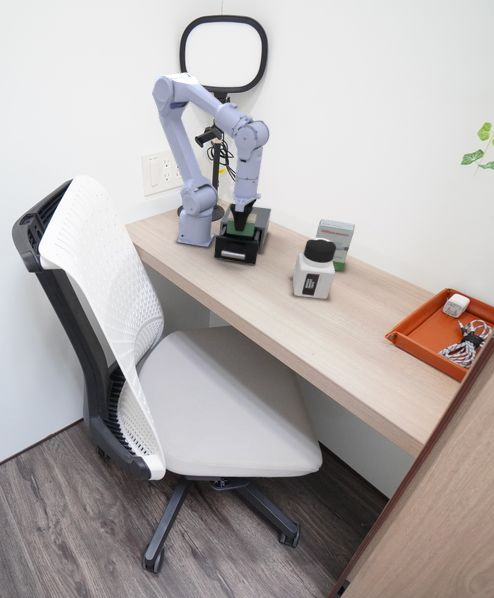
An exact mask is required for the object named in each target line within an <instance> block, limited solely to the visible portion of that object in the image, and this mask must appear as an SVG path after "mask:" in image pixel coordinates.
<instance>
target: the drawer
mask: <svg viewBox="0 0 494 598" xmlns="http://www.w3.org/2000/svg"><path fill="white" fill-rule="evenodd" d="M260 235H261V230H260V229H254V233H253V237H252V236H244V235H236V234H228V233H227V225H225V226H224V228H223V230H222V232H221V234H220V236H219V234H218V235H216V236H215V240H214V241H215V242H214V253H213V258H214V259H220V260H227V261H232V262H238V263H243V264H250V265H254V266H255V265H256V264H257V259H258V254H259V253H258V247H259V241H260Z"/></svg>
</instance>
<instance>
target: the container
mask: <svg viewBox="0 0 494 598" xmlns="http://www.w3.org/2000/svg"><path fill="white" fill-rule="evenodd" d="M335 251H336V245H335V244H334V243H333V242H332V241H330V240H327V239H324V238H316V237H312V238H310V239H308V240H307V241H306V243H305V247H304V251H303V252H299V253H298V254H297V259H296V263H295V267H294V271H293V275H292V287H293V294H294V296H298V297H305V298H313V299H322V300H327V299H328V297H329V294H330V291H331V288H332V285H333V282H334V279H335V276H336V270H335V269H334V266H333V262H332V261H333V257H334V254H335Z"/></svg>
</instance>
